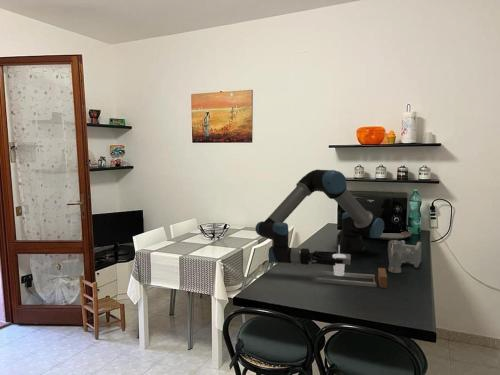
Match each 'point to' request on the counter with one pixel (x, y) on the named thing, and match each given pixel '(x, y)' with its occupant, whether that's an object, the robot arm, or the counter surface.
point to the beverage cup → (339, 267)
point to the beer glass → (395, 256)
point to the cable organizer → (411, 254)
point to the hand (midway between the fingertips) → (350, 259)
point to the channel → (381, 277)
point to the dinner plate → (394, 236)
